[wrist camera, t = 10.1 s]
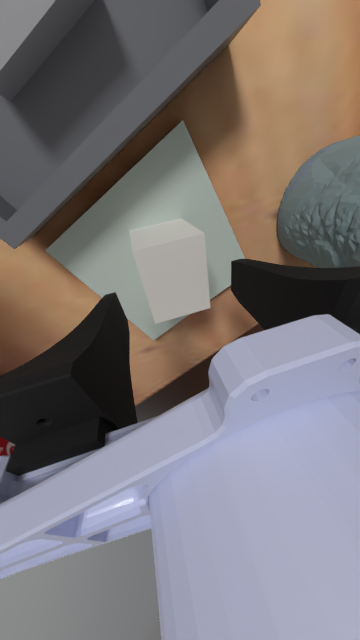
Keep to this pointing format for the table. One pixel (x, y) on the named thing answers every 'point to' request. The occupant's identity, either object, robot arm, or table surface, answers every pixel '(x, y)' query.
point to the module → (172, 268)
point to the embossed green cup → (324, 208)
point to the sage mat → (145, 210)
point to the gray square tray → (91, 88)
